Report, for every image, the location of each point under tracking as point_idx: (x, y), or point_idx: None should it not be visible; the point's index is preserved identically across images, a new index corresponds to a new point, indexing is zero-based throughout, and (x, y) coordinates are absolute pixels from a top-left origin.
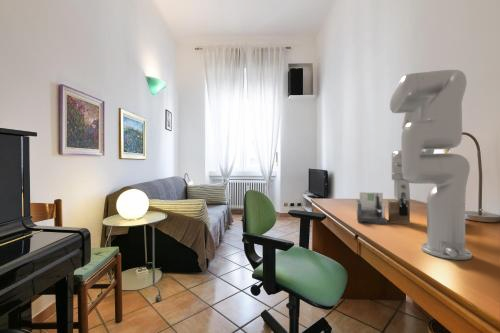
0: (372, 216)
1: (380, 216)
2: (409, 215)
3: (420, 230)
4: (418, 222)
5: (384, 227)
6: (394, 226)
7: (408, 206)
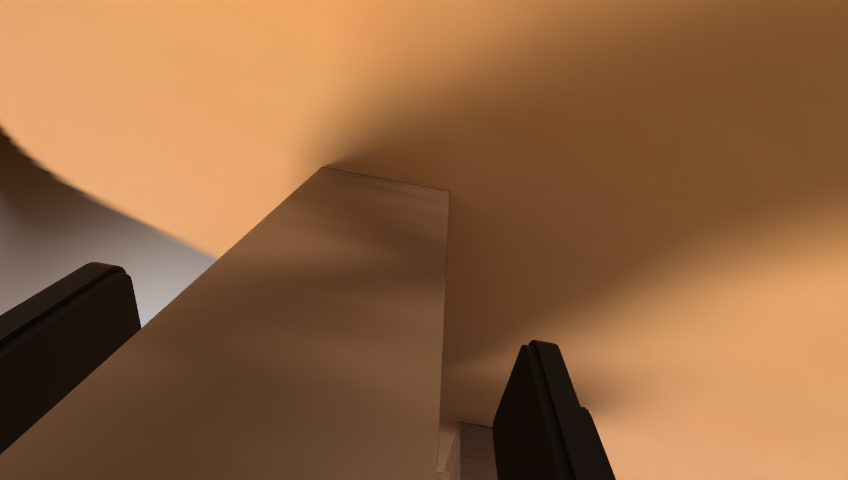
0: None
1: None
2: (443, 254)
3: (808, 208)
4: (332, 5)
5: None
6: None
7: (430, 433)
